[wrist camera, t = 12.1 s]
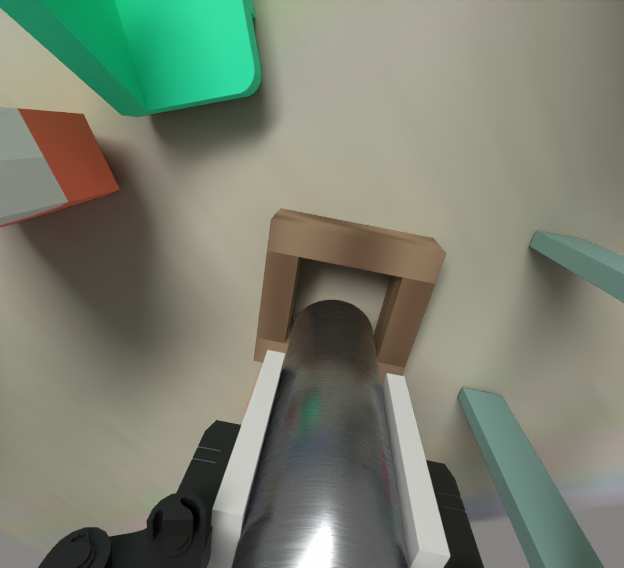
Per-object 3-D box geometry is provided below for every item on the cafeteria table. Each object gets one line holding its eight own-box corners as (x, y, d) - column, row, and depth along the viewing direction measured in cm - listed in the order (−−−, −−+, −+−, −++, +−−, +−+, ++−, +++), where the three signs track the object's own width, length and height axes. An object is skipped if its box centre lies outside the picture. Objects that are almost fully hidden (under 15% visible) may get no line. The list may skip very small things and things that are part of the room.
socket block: (263, 336, 26) (253, 360, 23) (280, 208, 21) (271, 219, 19) (391, 362, 25) (396, 389, 23) (433, 238, 21) (446, 253, 19)
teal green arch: (458, 397, 26) (631, 805, 10) (536, 230, 20) (1203, 562, 4) (496, 405, 26) (730, 827, 10) (586, 240, 20) (1434, 610, 4)
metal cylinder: (287, 360, 19) (177, 808, 6) (298, 292, 17) (178, 732, 5) (362, 374, 19) (402, 853, 6) (382, 308, 17) (492, 796, 5)
